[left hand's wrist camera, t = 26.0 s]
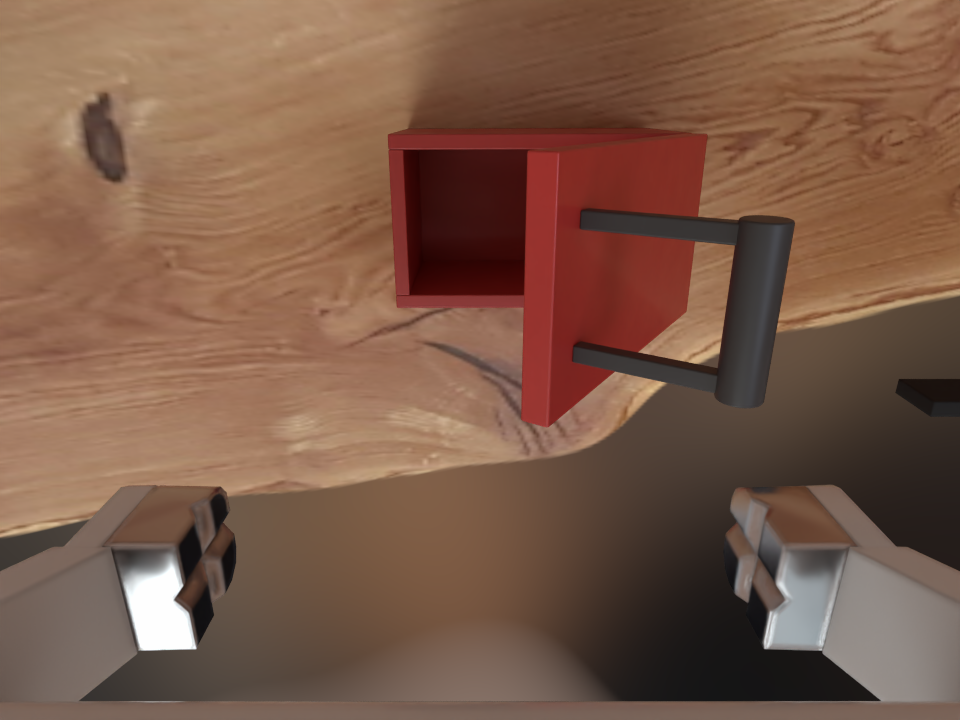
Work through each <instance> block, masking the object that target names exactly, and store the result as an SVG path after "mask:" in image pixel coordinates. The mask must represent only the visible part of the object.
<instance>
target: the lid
mask: <svg viewBox="0 0 960 720" xmlns="http://www.w3.org/2000/svg"><path fill="white" fill-rule="evenodd" d="M706 144H707V134H689V133H687V134H677V135H668V136H658V137H649V138H639V139H630V140H620V141H610V142H601V143H591V144H582V145H572V146H563V147H553V148H544V149H534V150H529V151H528V153H527V191H526V234H525V278H524V322H523V366H522V409H521V419H522V421H526V422H529V423H533V424H536V425H540V426H543V427H549V426H550V425H552V424H553V423H554V422H555V421H556V420H558V419H559V418H560V417H561V416H562V415H564V414H565V413H566V412H567V411H568V410H569V409H571V408H572V407H573V406H574V405H575V404H577V403H578V402H579V401H580V400H581V399H583V398H584V397H585V396H586V395H587V394H589V393H590V392H591V391H592V390H593V389H595V388H596V387H597V386H598V385H599V384H601V383H602V382H603V381H604V380H605V379H607V378H608V377H609V376H610V375H611V374H613V373H614V372H620V373H625V374H629V375H634V376H638V377H643V378H647V379H652V380H657V381H661V382H666V383H671V384H675V385H680V386H684V387H689V388H693V389H698V390H703V391H707V392H712V393H714V396H715V398H716V399H717V400H718V401H719V402H721V403H723V404H726V405H729V406H732V407H738V408H755V407H759V406H761V405H762V404H763V402H764V398H765V392H766V386H767V381H768V375H769V369H770V364H771V358H772V352H773V346H774V341H775V335H776V329H777V324H778V318H779V312H780V306H781V301H782V295H783V289H784V283H785V278H786V272H787V266H788V260H789V255H790V249H791V243H792V237H793V232H794V226H795V222H794V220H792V219H789V218H784V217H778V216H764V215H752V216H744V217H741V218H740V219H739V220H729V219H717V218H705V217H698V211H699V202H700V194H701V186H702V177H703V169H704V160H705V152H706ZM695 241H698V242H708V243H717V244H727V245H735V250H734V257H733V264H732V271H731V278H730V285H729V292H728V299H727V306H726V313H725V320H724V327H723V334H722V341H721V348H720V355H719V362H718V368H714V367H709V366H704V365H699V364H694V363H689V362H683V361H678V360H673V359H668V358H663V357H658V356H653V355H648V354H643V353H638V352H639V351H640V350H641V349H642V348H644V347H645V346H646V345H647V344H648V343H650V342H651V341H652V340H653V339H654V338H656V337H657V336H658V335H659V334H660V333H662V332H663V331H664V330H665V329H666V328H668V327H669V326H670V325H671V324H672V323H674V322H675V321H676V320H677V319H678V318H679V317H681V316H682V315H683V314H684V313H685V312H686V311H687V303H688V295H689V286H690V278H691V269H692V261H693V253H694V244H695Z"/></svg>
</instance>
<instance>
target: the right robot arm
mask: <svg viewBox="0 0 960 720" xmlns="http://www.w3.org/2000/svg"><path fill="white" fill-rule="evenodd" d="M896 393H897V394H898V395H900V396H901V397H902V398H904V399H905V400H907V401H908V402H910V403H911V404H913V405H914V406H916V407H917V408H919V409H920V410H922V411H923V412H925V413H926V414H928V415H929V416H931V417H937V416H938V417H940V416H941V417H944V416H945V417H959V416H960V379H899V381H898V385H897V389H896Z"/></svg>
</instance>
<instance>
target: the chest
mask: <svg viewBox="0 0 960 720" xmlns="http://www.w3.org/2000/svg"><path fill="white" fill-rule="evenodd" d="M677 134H687V133H686V132H677V131H668V130H659V129H650V128H500V129H406V130H402V131H399V132H395V133H391V134H388V147H389V149H390V150H389V168H390V187H391V206H392V225H393V245H394V264H395V283H396V295H397V296H396V301H397V308H524V278H525V234H526V191H527V153H528V151H529V150H534V149H544V148H553V147H563V146H572V145H582V144H591V143H601V142H610V141H620V140H630V139H639V138H649V137H658V136H668V135H677ZM689 134H692V133H689Z"/></svg>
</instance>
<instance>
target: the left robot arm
mask: <svg viewBox="0 0 960 720" xmlns="http://www.w3.org/2000/svg"><path fill="white" fill-rule="evenodd" d="M229 511H230V507H229V502H228V498H227V493H226V492H225V491H224V490H223V489H222V488H221V487H207V486H156V485H132V486H125V487H121V488H120V489H119V490H118V491H117V492H116V493H115V494H114V495H113V496H112V497H111V498H110V499H109V500H108V501H107V502H106V503H105V504H104V506H103V507H102V508H101V509H100V510H99V511H98V512H97V513H96V514H95V515H94V516H93V517H92V518H91V519H90V520H89V521H88V522H87V523H86V524H85V525H84V526H83V527H82V528H81V530H79V532H78V533H77V534H76V535H75V536H74V537H73V538H72V539H71V540H70V541H69V542H68V543H67V544H66V545H65V546H64V547H52V548H50V549H48V550H46V551H44V552H41V553H39V554H37V555H35V556H33V557H31V558H29V559H26V560H24V561H22V562H20V563H18V564H15V565H13V566H11V567H9V568H7V569H5V570H3V571H0V720H960V572H959V571H957V570H955V569H953V568H951V567H949V566H947V565H944V564H942V563H940V562H938V561H936V560H933V559H931V558H929V557H927V556H925V555H923V554H921V553H918V552H916V551H914V550H912V549H910V548H908V547H896V546H895V545H894V544H893V543H892V542H891V541H890V540H889V539H888V538H887V537H886V536H885V535H884V534H883V533H882V531H881V530H880V529H879V528H878V527H877V526H876V525H875V524H874V523H873V522H872V521H871V520H870V519H869V518H868V517H867V516H866V515H865V514H864V513H863V512H862V511H861V510H860V509H859V507H858V506H857V505H856V504H855V503H854V502H853V501H852V500H851V499H850V498H849V497H848V496H847V495H846V494H845V493H844V492H843V491H842V490H841V489H840V488H838V487H836V486H833V485H815V486H792V487H753V488H736V490H735V492H734V494H733V496H732V501H731V507H730V511H731V513H732V515H733V516H734V518H735V520H736V521H737V523H736V524H735V525H734V526H733V527H732V528H731V529H730V530H729V531H728V532H727V533H726V537H725V544H724V562H725V571H726V574H727V577H728V581H729V583H730V585H731V587H732V589H733V591H734V593H735V594H736V595H737V596H739V597H740V598H742V599H743V600H745V601H746V602H748V607H747V613H746V616H747V618H748V620H749V622H750V623H751V625H752V627H753V629H754V631H755V633H756V635H757V636H758V638H759V640H760V642H761V644H762V646H763V648H764V649H785V650H821V651H823V654H824V655H825V656H827V657H828V658H829V659H831V660H832V661H833V662H834V663H835V664H837V665H838V666H839V667H840V668H842V669H843V670H844V671H845V672H847V673H848V674H849V675H850V676H852V677H853V678H854V679H855V680H856V681H858V682H859V683H860V684H861V685H863V686H864V687H865V688H866V689H868V690H869V691H870V692H871V693H873V694H874V695H875V696H876V697H878V698H879V699H880V700H881V701H443V702H442V701H432V702H431V701H425V702H424V701H418V702H417V701H407V702H405V701H401V702H400V701H79V700H80V699H81V698H83V697H84V696H85V695H86V694H87V693H89V692H90V691H91V690H93V689H94V688H95V687H96V686H98V685H99V684H100V683H101V682H102V681H104V680H105V679H106V678H107V677H109V676H110V675H111V674H112V673H114V672H115V671H116V670H117V669H119V668H120V667H121V666H122V665H124V664H125V663H126V662H127V661H129V660H130V659H131V658H132V657H134V656H135V655H136V654H137V651H139V650H174V649H196V648H197V646H198V644H199V642H200V640H201V638H202V637H203V635H204V633H205V631H206V629H207V627H208V625H209V623H210V622H211V620H212V618H213V616H214V613H213V607H212V602H214V601H215V600H217V599H218V598H220V597H221V596H223V595H224V594H225V593H226V591H227V589H228V587H229V585H230V583H231V581H232V578H233V573H234V569H235V564H236V543H235V536H234V533H233V532H232V531H231V530H230V529H229V528H228V527H227V526H226V525H225V524H224V523H223V521H224V520H225V518H226V516H227V515H228V513H229Z"/></svg>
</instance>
